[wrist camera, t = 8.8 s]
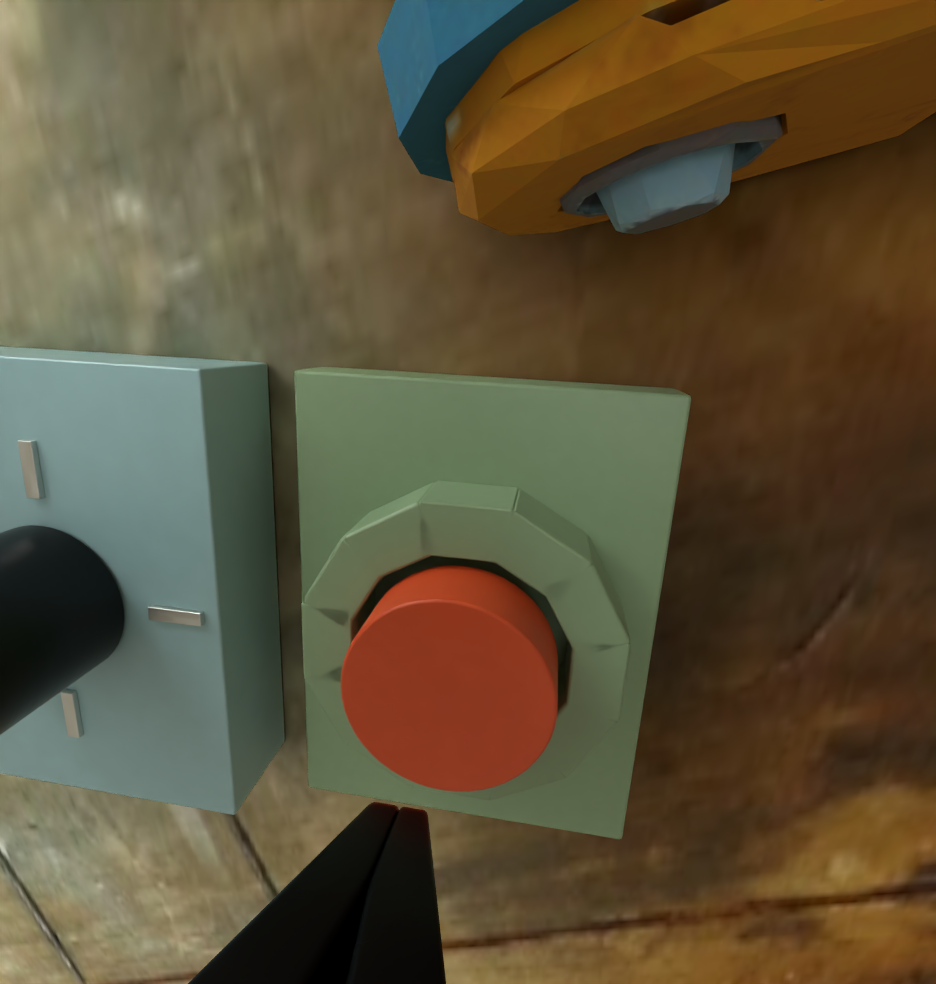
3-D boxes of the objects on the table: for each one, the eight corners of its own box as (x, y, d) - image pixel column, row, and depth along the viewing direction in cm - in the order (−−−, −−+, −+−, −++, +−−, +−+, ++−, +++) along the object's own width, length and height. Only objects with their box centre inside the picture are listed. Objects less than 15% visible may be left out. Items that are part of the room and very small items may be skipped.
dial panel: (40, 702, 19) (-55, 769, 16) (-27, 344, 16) (-160, 346, 13) (285, 740, 18) (231, 821, 15) (267, 362, 15) (195, 369, 12)
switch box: (329, 748, 18) (278, 841, 15) (321, 366, 15) (253, 375, 11) (616, 792, 17) (630, 905, 14) (676, 388, 14) (715, 405, 10)
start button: (367, 721, 14) (340, 775, 12) (367, 554, 12) (337, 587, 11) (548, 749, 13) (547, 809, 11) (567, 575, 12) (568, 614, 10)
